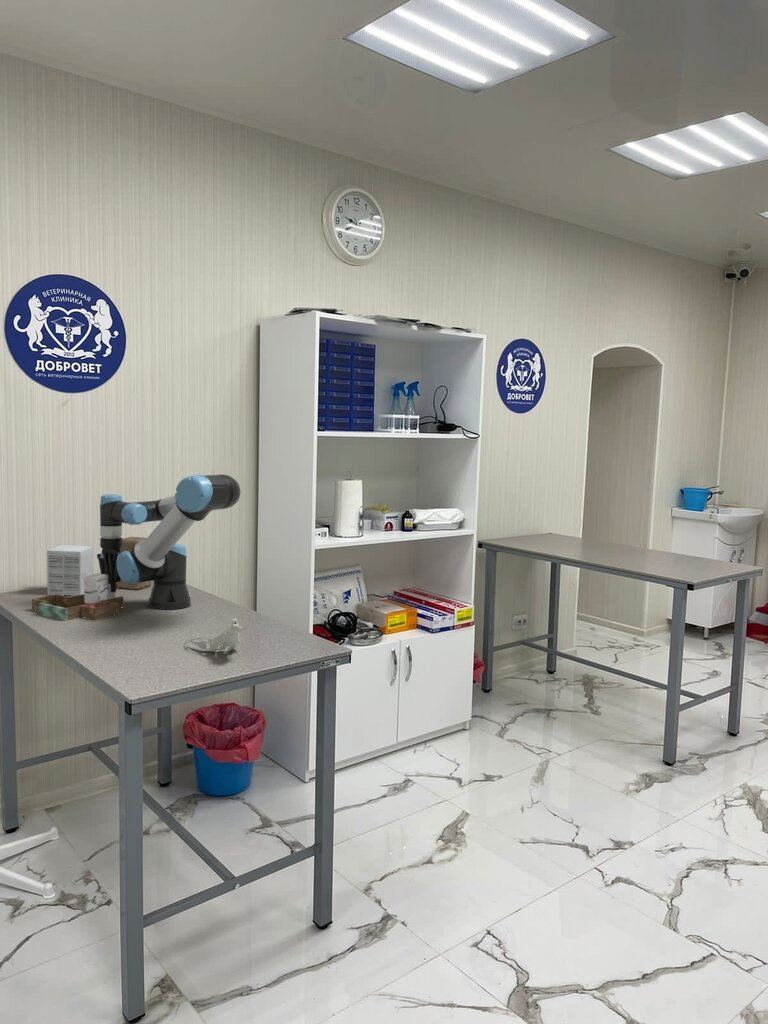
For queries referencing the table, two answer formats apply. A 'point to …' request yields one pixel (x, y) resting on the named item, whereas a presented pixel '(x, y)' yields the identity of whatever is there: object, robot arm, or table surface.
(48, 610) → the brown wooden tray
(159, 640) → the table surface
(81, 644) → the table surface
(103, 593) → the ink box
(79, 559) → the supplement box
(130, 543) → the block
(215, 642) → the bird figurine
